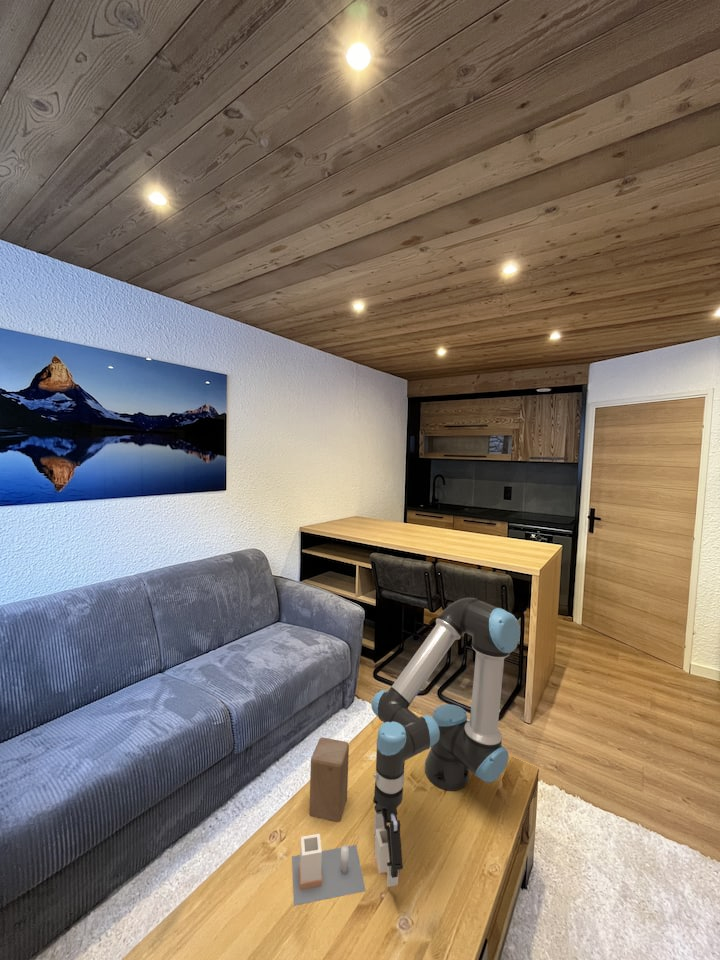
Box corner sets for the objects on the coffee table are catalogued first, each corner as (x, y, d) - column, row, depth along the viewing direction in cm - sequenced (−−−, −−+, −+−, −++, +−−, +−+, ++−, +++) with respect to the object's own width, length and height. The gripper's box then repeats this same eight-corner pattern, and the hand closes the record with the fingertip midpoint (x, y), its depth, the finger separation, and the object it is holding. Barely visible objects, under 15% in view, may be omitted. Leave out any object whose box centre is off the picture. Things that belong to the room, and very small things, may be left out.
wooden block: (340, 827, 119) (342, 764, 118) (308, 820, 121) (309, 758, 120) (347, 799, 129) (349, 740, 128) (318, 792, 131) (319, 735, 130)
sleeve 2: (392, 855, 112) (393, 825, 111) (398, 875, 106) (399, 844, 106) (373, 858, 111) (374, 828, 110) (378, 879, 105) (379, 848, 105)
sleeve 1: (319, 863, 107) (320, 832, 107) (321, 885, 102) (322, 853, 101) (299, 867, 106) (299, 836, 106) (300, 889, 101) (301, 856, 100)
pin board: (356, 849, 113) (356, 825, 112) (365, 896, 101) (366, 869, 101) (291, 861, 109) (292, 836, 109) (293, 911, 97) (294, 882, 97)
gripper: (365, 750, 118) (361, 818, 120) (388, 829, 94) (384, 912, 95) (389, 748, 120) (386, 814, 121) (418, 824, 95) (413, 906, 97)
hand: (385, 857), depth 108 cm, fingers open, 13 cm apart
